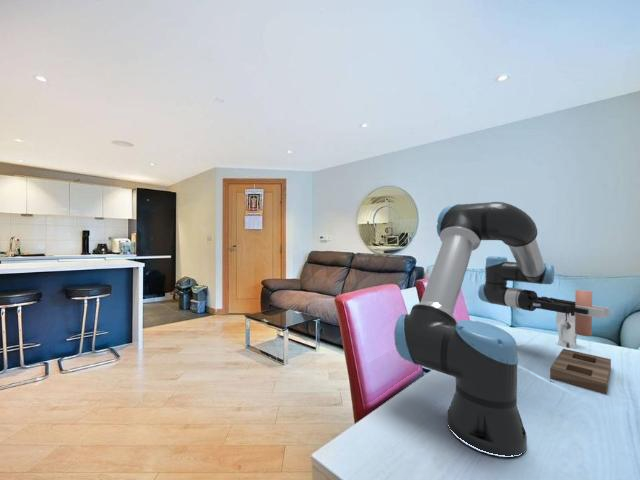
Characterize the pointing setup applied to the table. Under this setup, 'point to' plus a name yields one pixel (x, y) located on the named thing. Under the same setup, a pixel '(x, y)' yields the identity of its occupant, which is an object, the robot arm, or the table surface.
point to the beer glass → (566, 330)
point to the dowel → (583, 322)
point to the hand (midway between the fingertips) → (606, 313)
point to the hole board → (582, 370)
